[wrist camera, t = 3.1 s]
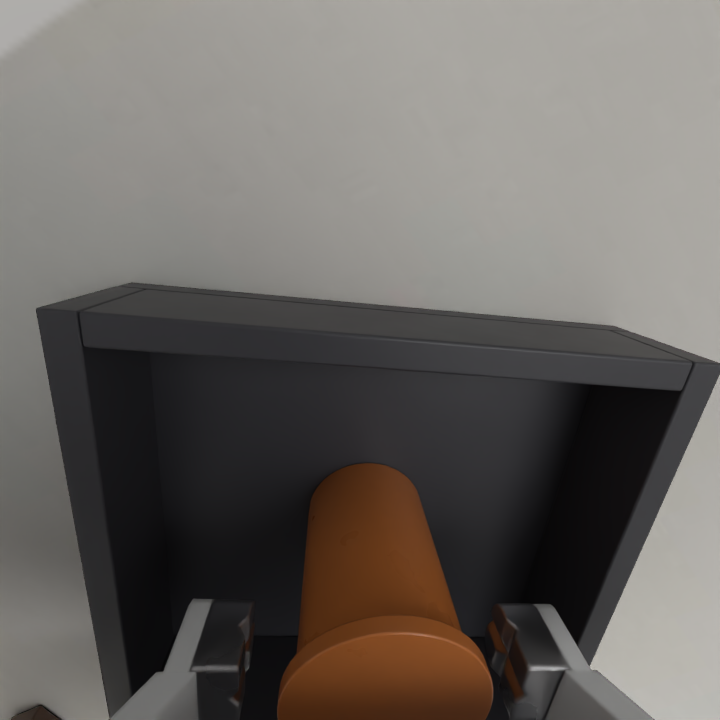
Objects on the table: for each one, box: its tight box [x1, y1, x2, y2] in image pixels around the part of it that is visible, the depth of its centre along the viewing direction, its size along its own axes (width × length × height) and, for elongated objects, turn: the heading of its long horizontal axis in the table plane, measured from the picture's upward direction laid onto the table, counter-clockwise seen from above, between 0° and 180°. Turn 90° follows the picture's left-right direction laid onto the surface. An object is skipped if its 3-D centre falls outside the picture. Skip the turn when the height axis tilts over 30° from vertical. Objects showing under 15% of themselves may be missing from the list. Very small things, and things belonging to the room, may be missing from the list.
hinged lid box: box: [36, 283, 720, 720], centre depth 13 cm, size 15×16×4 cm
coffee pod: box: [277, 463, 493, 720], centre depth 11 cm, size 5×5×6 cm
